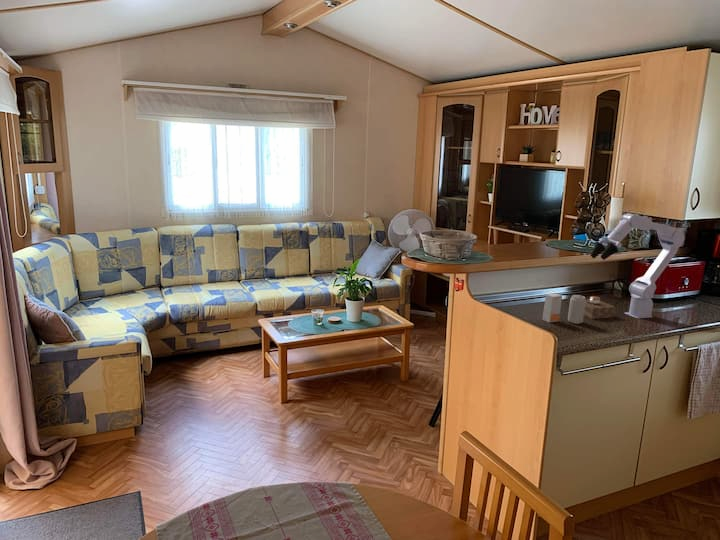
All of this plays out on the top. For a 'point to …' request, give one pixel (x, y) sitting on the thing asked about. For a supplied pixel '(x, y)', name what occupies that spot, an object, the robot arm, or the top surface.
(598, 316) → the band block
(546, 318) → the skincare box
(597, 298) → the peg
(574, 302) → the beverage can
